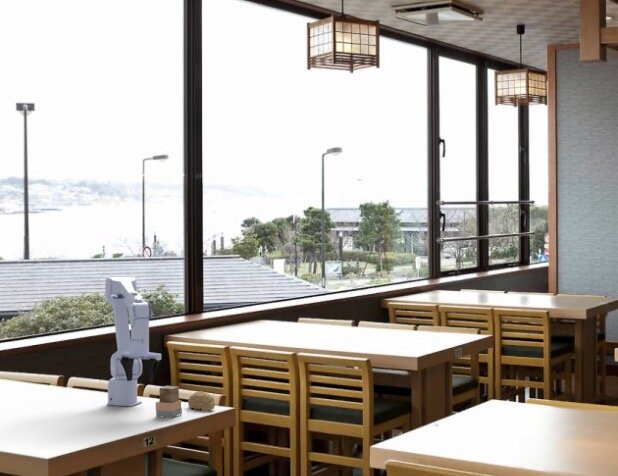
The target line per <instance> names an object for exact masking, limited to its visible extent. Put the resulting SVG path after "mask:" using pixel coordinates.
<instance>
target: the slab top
mask: <svg viewBox="0 0 618 476" xmlns="http://www.w3.org/2000/svg"><path fill="white" fill-rule="evenodd" d="M180 408H182V400H181V399H179V401H176V402H173V403H165V402H160V400H159V401H158V400H157V401H155V411H156V410H159V411H175V410H177V409H180Z"/></svg>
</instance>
